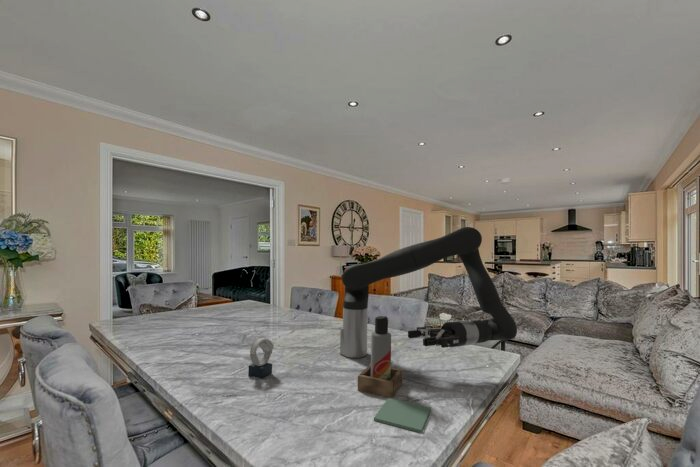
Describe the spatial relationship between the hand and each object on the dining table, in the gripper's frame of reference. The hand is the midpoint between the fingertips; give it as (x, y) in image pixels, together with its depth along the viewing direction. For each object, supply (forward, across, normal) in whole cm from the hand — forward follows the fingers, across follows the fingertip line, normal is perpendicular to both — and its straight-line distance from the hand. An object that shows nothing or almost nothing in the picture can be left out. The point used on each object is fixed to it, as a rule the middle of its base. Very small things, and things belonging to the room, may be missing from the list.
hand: (415, 338), depth 96 cm
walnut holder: (+12, 0, +13) cm, 17 cm away
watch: (+43, -19, +12) cm, 49 cm away
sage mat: (+13, +15, +13) cm, 24 cm away
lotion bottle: (+12, 0, +13) cm, 17 cm away
